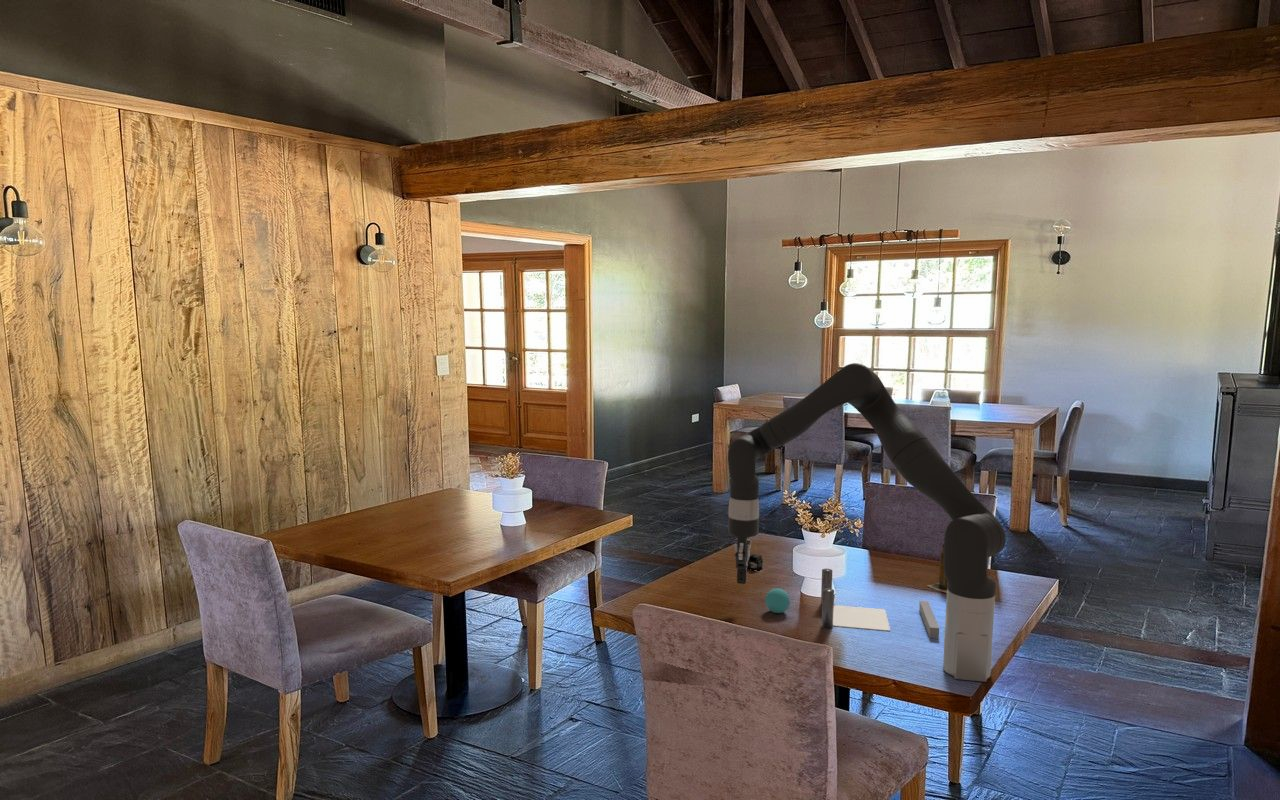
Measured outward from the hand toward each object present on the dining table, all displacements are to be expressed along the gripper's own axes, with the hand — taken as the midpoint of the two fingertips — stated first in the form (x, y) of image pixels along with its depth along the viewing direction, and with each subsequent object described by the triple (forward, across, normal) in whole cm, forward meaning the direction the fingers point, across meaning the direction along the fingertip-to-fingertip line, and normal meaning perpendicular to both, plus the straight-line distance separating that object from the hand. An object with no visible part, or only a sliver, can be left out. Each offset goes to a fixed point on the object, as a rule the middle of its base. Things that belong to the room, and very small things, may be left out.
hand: (741, 582), depth 201 cm
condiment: (+7, +30, -54) cm, 62 cm away
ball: (+4, 0, -9) cm, 10 cm away
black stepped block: (+8, +34, -1) cm, 35 cm away
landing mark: (+7, +1, -29) cm, 29 cm away
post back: (+7, +9, -21) cm, 24 cm away
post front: (+7, -7, -21) cm, 23 cm away
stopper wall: (+7, +1, -45) cm, 46 cm away
